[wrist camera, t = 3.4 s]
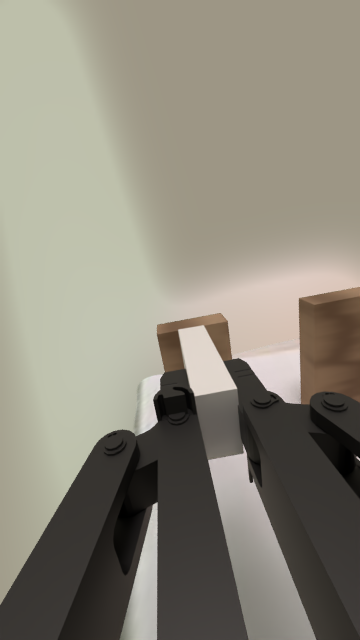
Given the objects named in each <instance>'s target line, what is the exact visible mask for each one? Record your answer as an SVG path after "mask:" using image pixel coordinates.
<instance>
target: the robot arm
mask: <svg viewBox="0 0 360 640" xmlns="http://www.w3.org/2000/svg"><path fill="white" fill-rule="evenodd" d="M178 332H179V338H180V344H181V350H182V356H183V362H184V368H185V369H180V370H175V371H169V372H165V373H164V374H163V376H162V377H161V379H160V386H161V387H160V391H158V393H157V394H156V395H155V396H154V399H153V401H154V406H155V410H156V415H157V420H158V423H157V424H156V425H155V426H154V427H153V428H151V429H150V430H148V431H147V432H145V433H143V434H140V435H138V436H136V437H135V434H134V433H132V432H131V431H128V430H117V431H113V432H111V433H109V434H107V435H105V436H104V437H103V438H101V439H100V440H99V441H98V442H97V444H96V445H95V446H94V448H93V450H92V452H91V453H90V455H89V456H88V458H87V460H86V462H85V463H84V465H83V466H82V468H81V470H80V472H79V473H78V475H77V477H76V479H75V480H74V482H73V483H72V485H71V487H70V488H69V490H68V492H67V494H66V495H65V497H64V499H63V500H62V502H61V504H60V505H59V507H58V509H57V511H56V512H55V514H54V516H53V517H52V519H51V521H50V522H49V524H48V526H47V528H46V529H45V531H44V532H43V534H42V536H41V538H40V539H39V541H38V543H37V544H36V546H35V548H34V549H33V551H32V553H31V554H30V556H29V558H28V559H27V561H26V563H25V564H24V566H23V568H22V570H21V571H20V573H19V575H18V576H17V578H16V580H15V581H14V583H13V585H12V586H11V588H10V590H9V591H8V593H7V595H6V597H5V598H4V600H3V602H2V603H1V605H0V640H120V636H121V632H122V628H123V624H124V620H125V616H126V612H127V608H128V604H129V600H130V596H131V592H132V588H133V584H134V580H135V576H136V572H137V568H138V564H139V560H140V556H141V552H142V548H143V544H144V540H145V536H146V532H147V528H148V524H149V520H150V516H151V512H152V505H153V504H155V503H157V502H158V563H157V640H248V636H247V632H246V627H245V623H244V618H243V614H242V610H241V605H240V601H239V596H238V592H237V587H236V583H235V579H234V574H233V570H232V565H231V561H230V556H229V552H228V548H227V543H226V539H225V534H224V530H223V525H222V521H221V516H220V512H219V508H218V503H217V499H216V494H215V490H214V485H213V481H212V477H211V472H210V468H209V463H208V460H210V459H216V458H221V457H226V456H231V455H237V454H242V453H244V452H243V445H244V447H245V450H246V452H247V460H248V471H249V480H250V483H252V482H253V479H254V482H255V484H256V487H257V489H258V492H259V494H260V497H261V499H262V502H263V504H264V507H265V510H266V512H267V515H268V517H269V520H270V522H271V525H272V527H273V530H274V532H275V535H276V538H277V540H278V543H279V545H280V548H281V550H282V553H283V555H284V558H285V560H286V563H287V565H288V568H289V571H290V573H291V576H292V578H293V581H294V583H295V586H296V588H297V591H298V593H299V596H300V599H301V601H302V604H303V606H304V609H305V611H306V614H307V616H308V619H309V621H310V624H311V627H312V629H313V632H314V634H315V637H316V639H317V640H360V461H359V460H358V459H357V458H356V456H357V457H359V458H360V403H359V402H358V401H356V400H354V399H352V398H351V397H348V396H346V395H344V394H341V393H336V392H326V391H324V392H319V393H316V394H314V395H313V396H311V399H310V405H309V404H290V403H285V402H284V401H283V399H282V398H281V397H280V396H278V395H277V394H275V393H273V392H270V391H267V390H266V389H265V387H264V386H263V384H262V383H261V382H260V380H259V379H258V377H257V376H256V375H255V373H254V372H253V371H252V370H251V368H250V366H249V365H248V364H247V362H245V361H243V360H241V359H239V358H238V359H232V360H227V361H222V359H221V357H220V355H219V353H218V351H217V349H216V347H215V346H214V344H213V342H212V340H211V338H210V336H209V334H208V332H207V330H206V329H205V327H204V325H202V326H196V327H190V328H185V329H179V330H178Z"/></svg>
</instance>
